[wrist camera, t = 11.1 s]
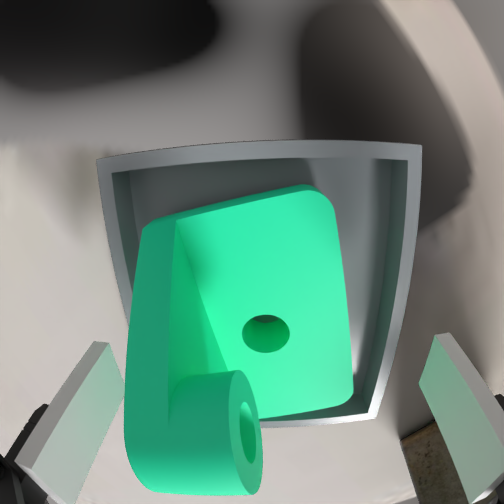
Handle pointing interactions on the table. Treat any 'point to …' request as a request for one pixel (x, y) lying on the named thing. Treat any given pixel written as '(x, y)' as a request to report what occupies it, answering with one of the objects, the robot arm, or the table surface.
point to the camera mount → (232, 336)
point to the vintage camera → (434, 468)
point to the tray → (280, 176)
